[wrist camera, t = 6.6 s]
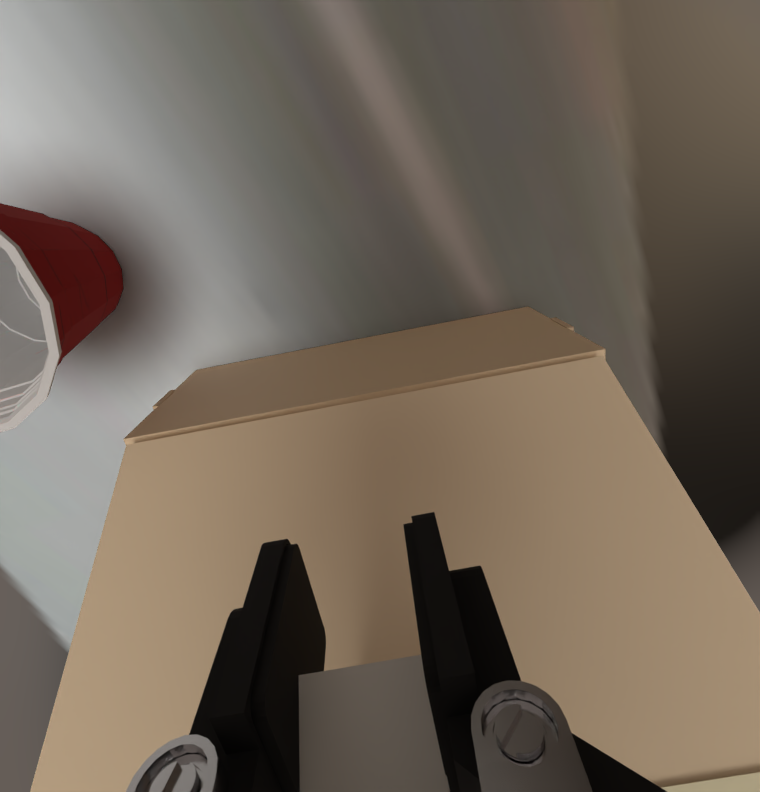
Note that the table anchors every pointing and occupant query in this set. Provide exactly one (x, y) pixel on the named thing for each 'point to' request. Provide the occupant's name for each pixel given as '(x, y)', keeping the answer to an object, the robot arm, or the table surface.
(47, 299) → the plastic cup
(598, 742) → the flap
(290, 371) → the carton
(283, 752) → the robot arm
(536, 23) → the table surface
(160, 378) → the table surface
